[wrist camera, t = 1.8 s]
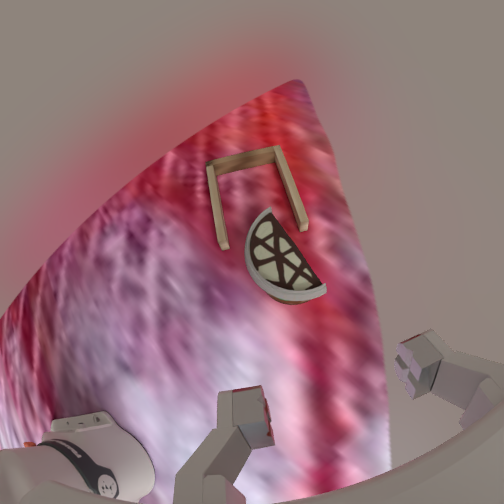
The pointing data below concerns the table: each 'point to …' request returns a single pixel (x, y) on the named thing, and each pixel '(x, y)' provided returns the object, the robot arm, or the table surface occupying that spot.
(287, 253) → the food container
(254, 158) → the wooden u-shaped frame
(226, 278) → the table surface
